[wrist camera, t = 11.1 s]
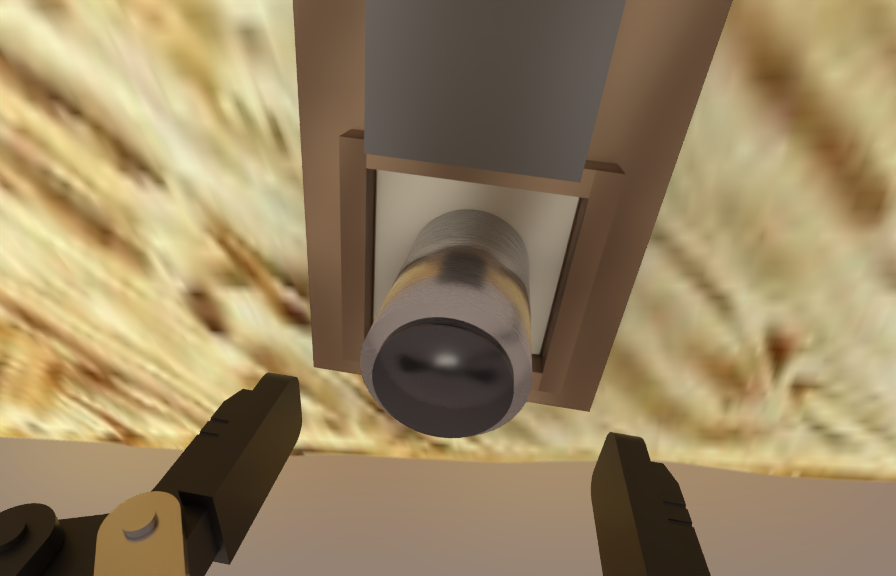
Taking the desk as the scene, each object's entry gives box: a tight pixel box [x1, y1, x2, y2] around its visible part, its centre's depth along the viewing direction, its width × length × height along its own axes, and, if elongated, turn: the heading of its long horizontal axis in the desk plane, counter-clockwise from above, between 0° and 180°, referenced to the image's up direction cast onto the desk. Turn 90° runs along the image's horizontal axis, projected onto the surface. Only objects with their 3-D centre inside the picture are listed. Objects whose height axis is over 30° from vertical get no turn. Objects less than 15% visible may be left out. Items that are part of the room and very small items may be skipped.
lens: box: [360, 210, 532, 438], centre depth 16 cm, size 5×5×8 cm
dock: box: [293, 0, 733, 412], centre depth 15 cm, size 14×22×9 cm, turn 174°
